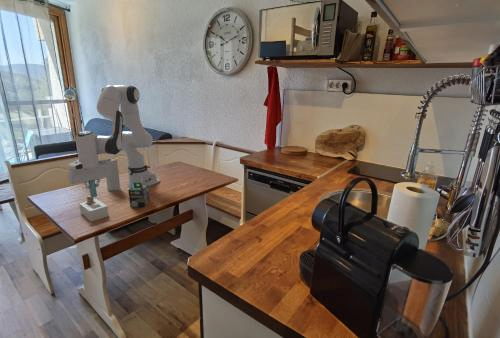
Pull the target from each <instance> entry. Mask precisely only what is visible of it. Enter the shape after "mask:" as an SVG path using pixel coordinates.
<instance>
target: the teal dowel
mask: <svg viewBox="0 0 500 338" xmlns="http://www.w3.org/2000/svg"><path fill="white" fill-rule="evenodd" d="M95 181H96V179H94V180H90V181H87V184H88V185H90V189H89V196H90V195H91V197H93V198H96V197H98V193H97V187H96V185H95V183H96V182H95Z"/></svg>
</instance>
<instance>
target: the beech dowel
mask: <svg viewBox="0 0 500 338" xmlns="http://www.w3.org/2000/svg"><path fill="white" fill-rule="evenodd" d="M93 200H94V197H91V195H90V194H89V195H87V196H86V202H87V203H88V205H92V204H94V201H93Z"/></svg>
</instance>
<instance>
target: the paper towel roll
mask: <svg viewBox="0 0 500 338" xmlns="http://www.w3.org/2000/svg"><path fill="white" fill-rule="evenodd" d="M105 160H108V161H110V168H111V172H112V174H111V176H108V177H105V178H106V179H105V181H106V187H107V190H108V191H109V192H110V191H112V192H113V191H118V190H121V184H120V181H121V180H120V173H119V165H118V160H117V159H116V160H115V158H107V159H105Z"/></svg>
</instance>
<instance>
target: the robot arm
mask: <svg viewBox="0 0 500 338" xmlns="http://www.w3.org/2000/svg"><path fill="white" fill-rule="evenodd" d="M139 100H140V91H139V89H138V88H137V87H136V86H133V85H124V84H118V85H117V84H115V85H110V84H109V85H105V86H104V87H103V88H102V89H101V93H100V94H99V97H98V100H97V103H96V110H97V112H98V114H99V115H100V116H101V117H103V118H104V119H107V120H109V121H111V122H112V127H111V133H110V134H109V135H102V134H95V133H94V131H92V130H81V131H79V132H77V133H76V136H75V144H76V151H77V153H78V154H77V155H78V156H77V157H78V159H76V160H75V161H72V162H70V163H69V164H68V168H69V169H68V171H67V180H68V182H69V183H70V184H72V185H77V184H79V183H83V185H85V189H86V190H90V185H89V184H88V181H90V180H94V179H95V181H96V182H95V185H96V188H98V187H100V182H101V179H103V178H106V177H108V176H111V174H112V172H111V168H110V161H108V160H106V159H104V160H99V155H98V154H108V155H117V154H119V153H120V152H121V151H122V150H123V152H124V153H125V155H126V158H127V159H126V160H127V172H128V183H127V186H128V187H129V188H131V187H132V186H133V185H134V183H142V185H148V187H150V186H152V185H156V184H157V183H160V182H161V180H160V179H159V178H158V177H157V175H156V173H155V172H153V171H152V170H149V169H150V168H151V165H148V164H146V163H145V155H144V153H142V152H141V151H139V149H144V148H150V147H151V146H152V145H153V142H154V141H153V140H154V139H153V136H152V134H151V133H149V132H148V131H147V130H146V129H145V127H144V126H143V123H142V121H141V117H140V110H139V106H138V101H139ZM123 127H125V128H126V127H127V128H128V129H129V130H128V131H127V130H125V131H123ZM138 148H139V149H138ZM136 185H139V184H136Z"/></svg>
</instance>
